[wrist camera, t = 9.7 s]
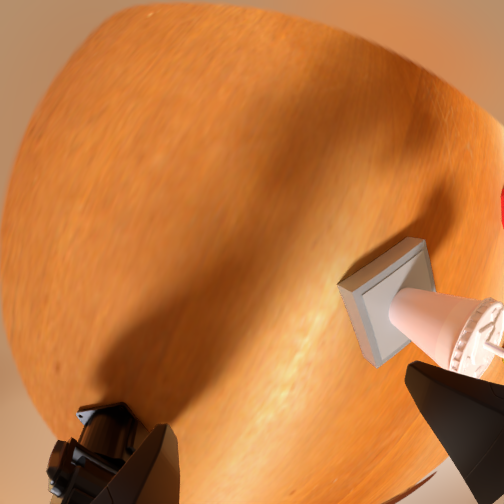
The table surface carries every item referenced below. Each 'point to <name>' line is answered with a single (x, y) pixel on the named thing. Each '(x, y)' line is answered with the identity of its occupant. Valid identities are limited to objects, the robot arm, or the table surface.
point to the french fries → (503, 205)
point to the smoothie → (451, 328)
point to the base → (385, 296)
